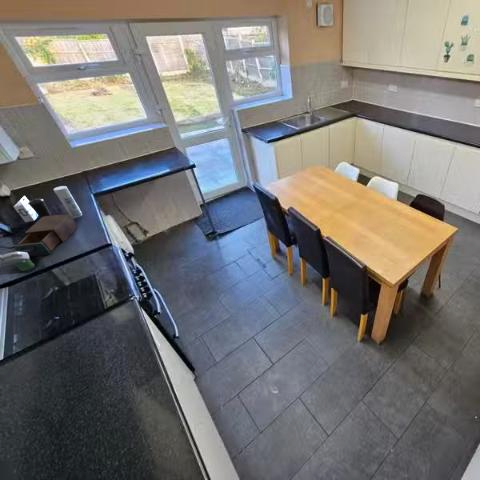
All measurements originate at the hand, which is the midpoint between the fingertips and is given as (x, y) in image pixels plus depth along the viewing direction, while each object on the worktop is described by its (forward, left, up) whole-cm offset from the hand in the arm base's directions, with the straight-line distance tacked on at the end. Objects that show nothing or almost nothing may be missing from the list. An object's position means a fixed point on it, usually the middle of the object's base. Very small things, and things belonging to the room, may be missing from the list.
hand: (10, 263), depth 130 cm
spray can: (-4, +59, -10) cm, 60 cm away
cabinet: (-4, +37, -10) cm, 39 cm away
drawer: (-4, +23, -10) cm, 25 cm away
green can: (-2, +7, -10) cm, 13 cm away
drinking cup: (-20, +57, -10) cm, 61 cm away
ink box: (-32, +61, -10) cm, 70 cm away
